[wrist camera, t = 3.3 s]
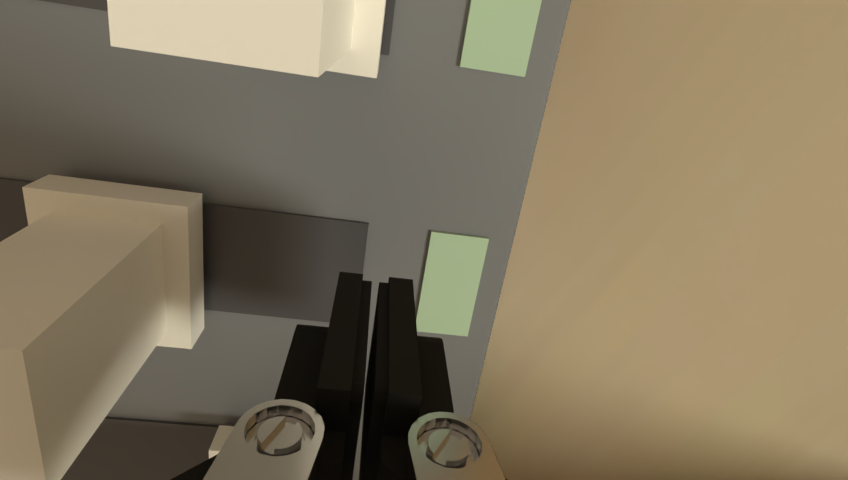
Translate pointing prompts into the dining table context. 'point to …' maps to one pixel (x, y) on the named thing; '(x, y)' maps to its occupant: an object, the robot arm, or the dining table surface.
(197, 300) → the breaker mid
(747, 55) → the dining table surface
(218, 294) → the console
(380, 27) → the breaker near
